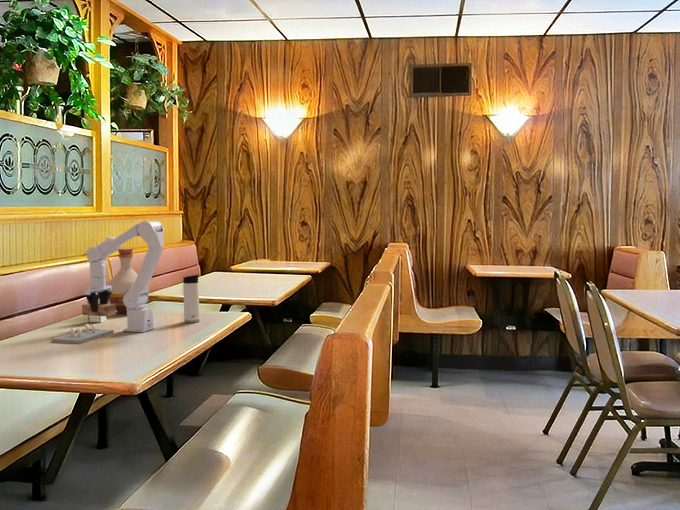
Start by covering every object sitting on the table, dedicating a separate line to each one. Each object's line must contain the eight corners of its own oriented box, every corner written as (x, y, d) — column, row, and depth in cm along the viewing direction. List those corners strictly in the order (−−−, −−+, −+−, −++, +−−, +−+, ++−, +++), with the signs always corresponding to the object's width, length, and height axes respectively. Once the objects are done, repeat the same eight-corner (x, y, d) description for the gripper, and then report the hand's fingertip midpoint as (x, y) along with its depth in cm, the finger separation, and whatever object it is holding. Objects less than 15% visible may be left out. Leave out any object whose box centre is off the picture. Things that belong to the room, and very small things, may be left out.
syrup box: (106, 320, 288) (105, 287, 287) (100, 322, 282) (99, 288, 281) (94, 320, 289) (92, 287, 288) (87, 322, 283) (86, 288, 282)
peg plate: (113, 333, 260) (113, 322, 259) (78, 343, 241) (78, 332, 240) (87, 331, 263) (87, 321, 263) (51, 342, 244) (50, 330, 244)
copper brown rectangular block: (115, 314, 269) (115, 304, 268) (107, 316, 264) (107, 306, 264) (90, 313, 272) (90, 303, 272) (82, 315, 268) (82, 305, 267)
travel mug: (196, 323, 279) (195, 275, 278) (181, 322, 280) (180, 275, 279) (202, 320, 285) (201, 274, 284) (188, 320, 287) (186, 273, 285)
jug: (105, 310, 314) (102, 247, 312) (144, 307, 322) (142, 245, 319) (109, 317, 296) (106, 249, 294) (150, 314, 304) (148, 248, 301)
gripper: (101, 274, 275) (102, 307, 276) (77, 278, 261) (78, 313, 262) (115, 274, 273) (116, 307, 274) (92, 279, 259) (93, 313, 260)
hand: (99, 310), depth 268 cm, fingers closed on copper brown rectangular block, 5 cm apart
